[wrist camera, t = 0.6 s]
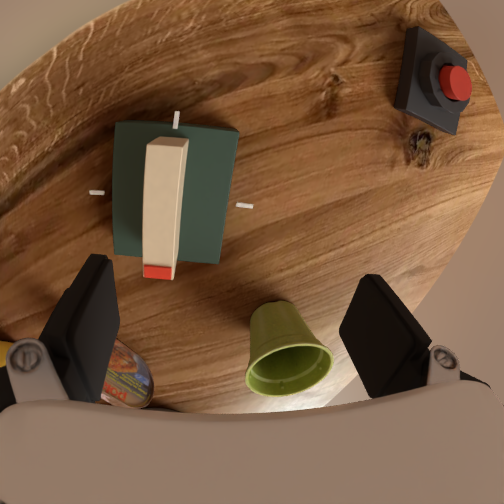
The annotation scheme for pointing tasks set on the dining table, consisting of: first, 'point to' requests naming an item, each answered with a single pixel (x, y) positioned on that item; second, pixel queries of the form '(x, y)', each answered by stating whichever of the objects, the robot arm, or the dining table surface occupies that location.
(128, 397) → the tin
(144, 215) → the beige rectangular block
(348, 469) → the robot arm
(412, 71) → the control block
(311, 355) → the plant pot
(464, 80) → the button
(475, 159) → the dining table surface
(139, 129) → the dial base
